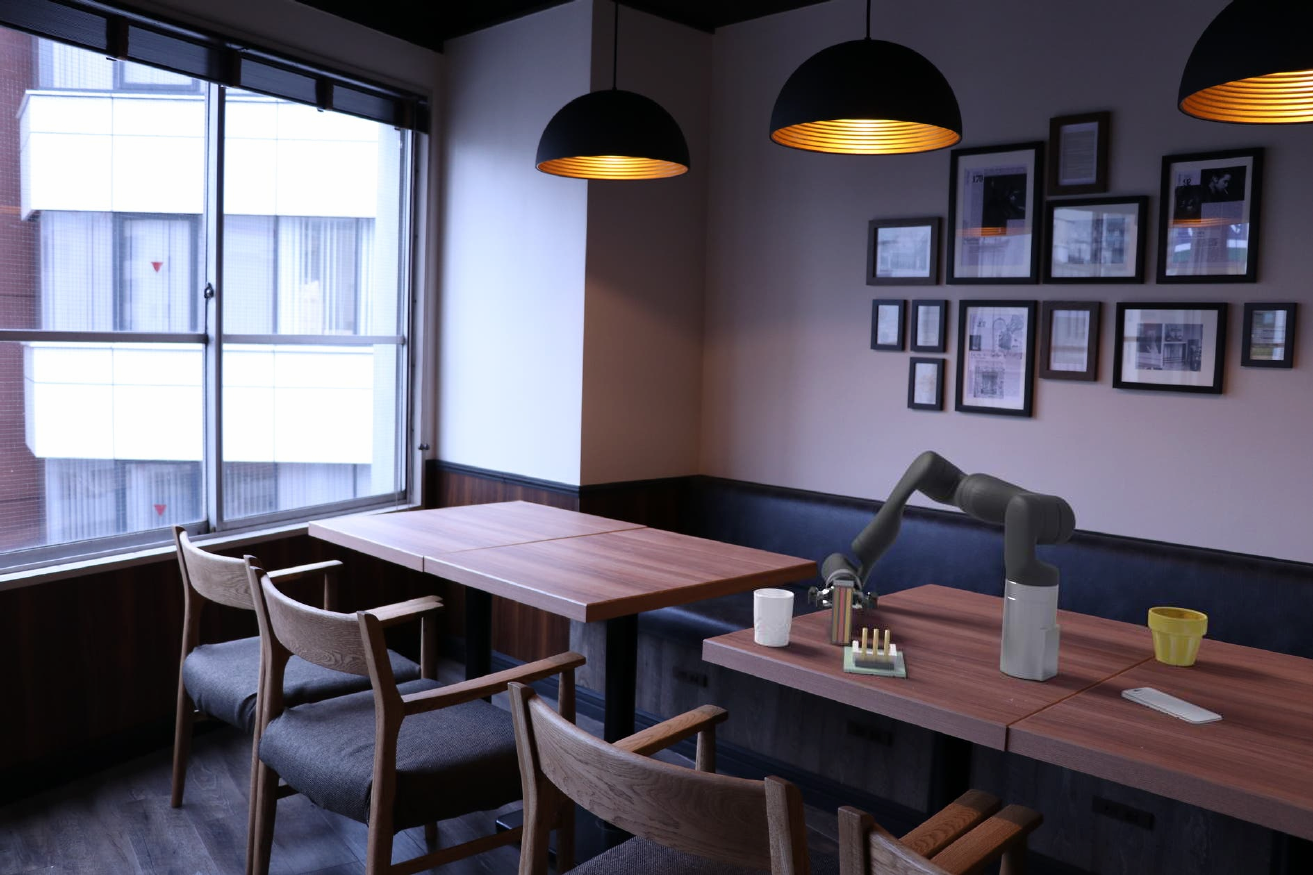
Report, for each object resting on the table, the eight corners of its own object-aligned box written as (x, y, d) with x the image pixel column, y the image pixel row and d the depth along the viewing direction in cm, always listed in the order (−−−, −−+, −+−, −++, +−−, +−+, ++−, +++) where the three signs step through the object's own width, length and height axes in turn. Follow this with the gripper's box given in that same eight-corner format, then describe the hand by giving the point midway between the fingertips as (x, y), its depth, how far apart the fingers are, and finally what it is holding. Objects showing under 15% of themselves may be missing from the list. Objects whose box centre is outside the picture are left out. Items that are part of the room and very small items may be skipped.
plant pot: (1143, 663, 202) (1147, 614, 201) (1146, 650, 211) (1150, 603, 210) (1203, 672, 197) (1208, 622, 196) (1203, 659, 206) (1207, 611, 206)
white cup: (778, 650, 201) (781, 599, 200) (744, 642, 206) (746, 592, 205) (798, 642, 207) (801, 593, 206) (764, 634, 212) (767, 586, 211)
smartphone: (1195, 722, 168) (1118, 690, 181) (1194, 729, 168) (1118, 697, 182) (1225, 717, 171) (1148, 686, 184) (1224, 723, 171) (1147, 692, 185)
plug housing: (830, 637, 212) (833, 579, 211) (850, 639, 211) (853, 581, 210) (829, 643, 207) (833, 584, 206) (850, 645, 206) (853, 586, 205)
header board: (844, 649, 203) (846, 611, 203) (901, 654, 201) (904, 616, 201) (843, 671, 189) (845, 630, 188) (905, 677, 187) (908, 636, 186)
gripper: (811, 569, 227) (807, 584, 211) (877, 574, 224) (879, 590, 208) (809, 603, 227) (806, 620, 212) (875, 608, 225) (877, 626, 209)
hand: (842, 605), depth 210 cm, fingers open, 8 cm apart
